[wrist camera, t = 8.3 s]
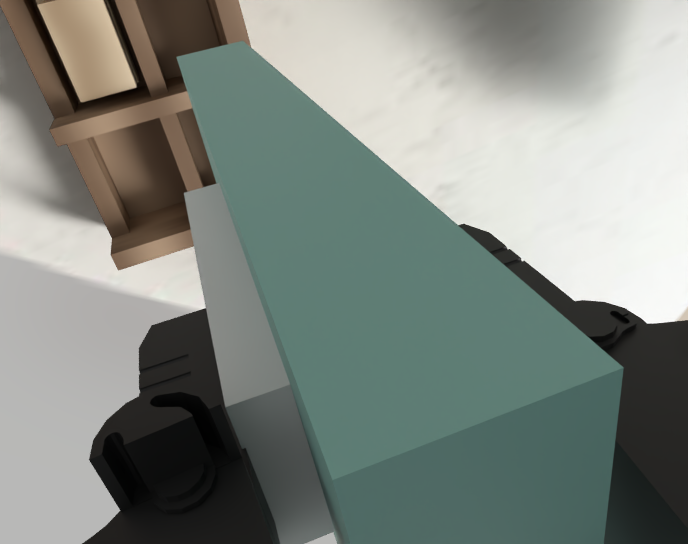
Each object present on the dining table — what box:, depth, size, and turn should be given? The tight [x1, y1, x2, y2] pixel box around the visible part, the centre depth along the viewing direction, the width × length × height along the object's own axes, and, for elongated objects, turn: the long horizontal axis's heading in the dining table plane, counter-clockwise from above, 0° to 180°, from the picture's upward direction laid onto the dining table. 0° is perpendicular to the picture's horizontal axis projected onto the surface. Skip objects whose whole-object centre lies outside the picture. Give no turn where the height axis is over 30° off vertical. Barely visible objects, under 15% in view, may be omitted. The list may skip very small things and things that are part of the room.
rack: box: [0, 0, 251, 270], centre depth 35 cm, size 12×18×8 cm, turn 12°
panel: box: [176, 41, 624, 544], centre depth 12 cm, size 2×6×16 cm, turn 11°
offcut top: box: [37, 0, 137, 102], centre depth 32 cm, size 3×5×2 cm, turn 12°
